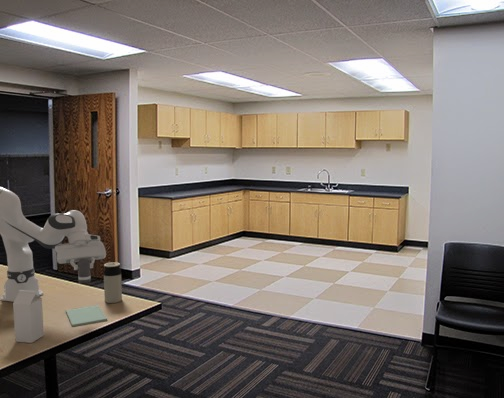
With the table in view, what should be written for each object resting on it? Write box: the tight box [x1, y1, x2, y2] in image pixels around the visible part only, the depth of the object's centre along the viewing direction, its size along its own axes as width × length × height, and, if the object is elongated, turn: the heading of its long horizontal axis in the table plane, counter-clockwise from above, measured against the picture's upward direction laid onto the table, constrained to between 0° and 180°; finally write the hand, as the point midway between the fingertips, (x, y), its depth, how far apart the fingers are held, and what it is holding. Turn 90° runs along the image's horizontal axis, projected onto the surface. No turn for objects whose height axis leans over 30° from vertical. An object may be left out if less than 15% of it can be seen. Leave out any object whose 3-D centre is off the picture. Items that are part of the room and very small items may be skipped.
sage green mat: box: [65, 304, 108, 327], centre depth 200 cm, size 20×14×1 cm
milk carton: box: [12, 290, 45, 344], centre depth 175 cm, size 7×7×19 cm
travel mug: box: [103, 261, 123, 304], centre depth 220 cm, size 8×8×18 cm
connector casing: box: [77, 258, 92, 284], centre depth 198 cm, size 5×5×10 cm
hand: (84, 268), depth 197 cm, fingers closed on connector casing, 5 cm apart
